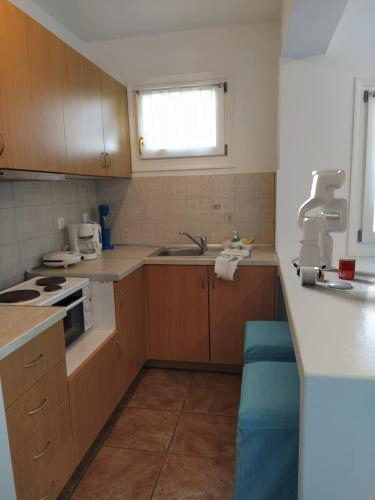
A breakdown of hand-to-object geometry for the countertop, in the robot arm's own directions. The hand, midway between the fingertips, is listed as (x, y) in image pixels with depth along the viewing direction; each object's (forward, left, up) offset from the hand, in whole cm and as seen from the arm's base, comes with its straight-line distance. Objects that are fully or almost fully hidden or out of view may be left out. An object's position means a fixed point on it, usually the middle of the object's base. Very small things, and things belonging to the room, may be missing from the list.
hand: (309, 277), depth 181 cm
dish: (+2, +14, -4) cm, 15 cm away
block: (-10, +8, -4) cm, 13 cm away
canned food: (-15, +23, -4) cm, 28 cm away
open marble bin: (0, 0, -4) cm, 4 cm away
